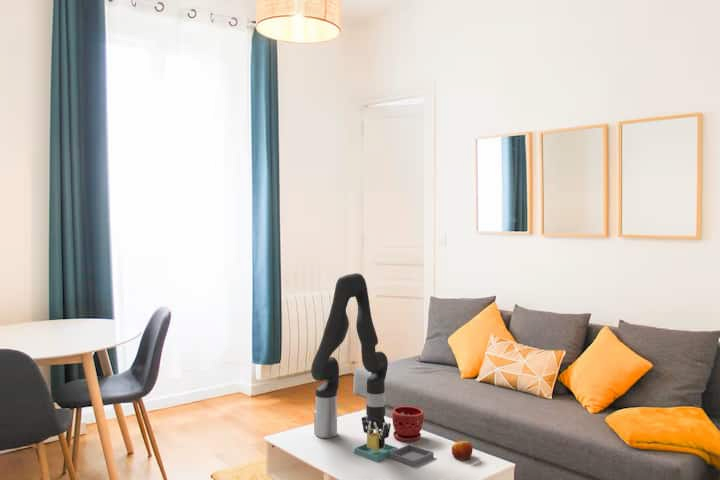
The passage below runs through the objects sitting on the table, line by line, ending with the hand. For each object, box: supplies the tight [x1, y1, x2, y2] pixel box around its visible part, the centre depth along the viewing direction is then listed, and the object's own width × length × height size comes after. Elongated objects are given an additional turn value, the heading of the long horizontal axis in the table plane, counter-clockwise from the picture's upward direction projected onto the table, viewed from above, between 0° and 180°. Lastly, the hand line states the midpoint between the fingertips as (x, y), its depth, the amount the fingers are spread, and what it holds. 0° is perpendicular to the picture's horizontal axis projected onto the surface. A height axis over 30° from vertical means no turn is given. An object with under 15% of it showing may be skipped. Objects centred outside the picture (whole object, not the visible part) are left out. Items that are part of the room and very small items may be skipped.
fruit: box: [451, 440, 474, 461], centre depth 233 cm, size 8×8×8 cm
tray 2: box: [388, 444, 435, 468], centre depth 233 cm, size 12×12×2 cm
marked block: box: [366, 431, 386, 451], centre depth 238 cm, size 5×5×5 cm
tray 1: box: [353, 442, 399, 462], centre depth 238 cm, size 12×12×2 cm
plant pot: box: [391, 406, 424, 443], centre depth 255 cm, size 13×13×12 cm
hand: (376, 445), depth 238 cm, fingers closed on marked block, 5 cm apart
